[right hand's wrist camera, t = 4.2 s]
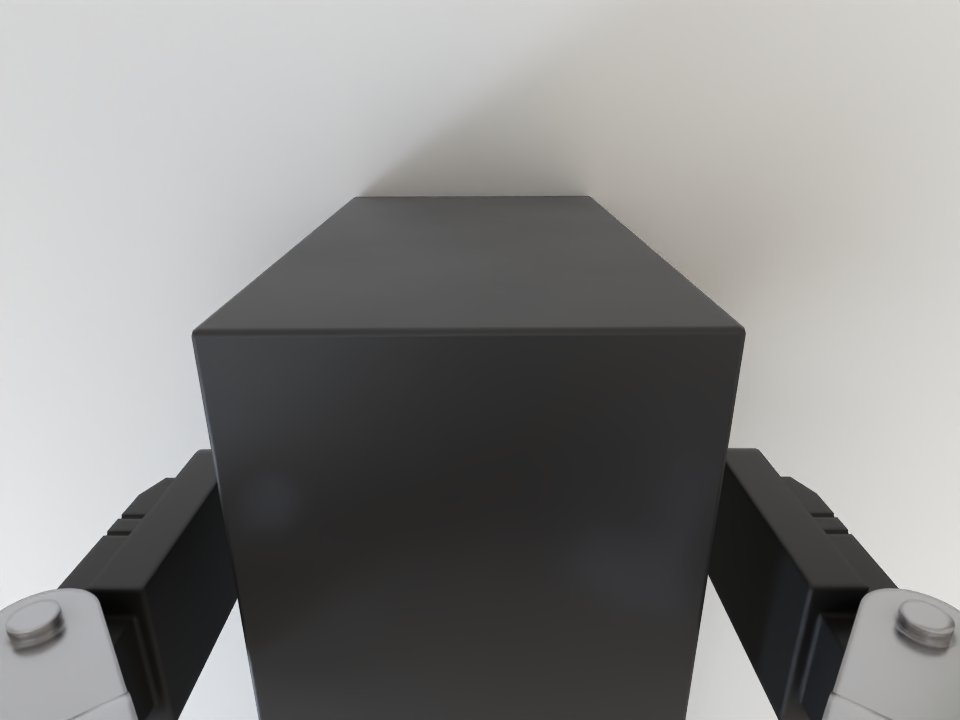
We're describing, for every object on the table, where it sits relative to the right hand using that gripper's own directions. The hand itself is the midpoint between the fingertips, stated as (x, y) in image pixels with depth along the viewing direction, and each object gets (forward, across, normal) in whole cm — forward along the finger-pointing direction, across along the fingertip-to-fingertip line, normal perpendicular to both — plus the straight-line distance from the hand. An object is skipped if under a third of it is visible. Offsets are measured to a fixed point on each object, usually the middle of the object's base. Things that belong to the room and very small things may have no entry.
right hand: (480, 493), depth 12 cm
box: (+7, 0, -10) cm, 12 cm away
